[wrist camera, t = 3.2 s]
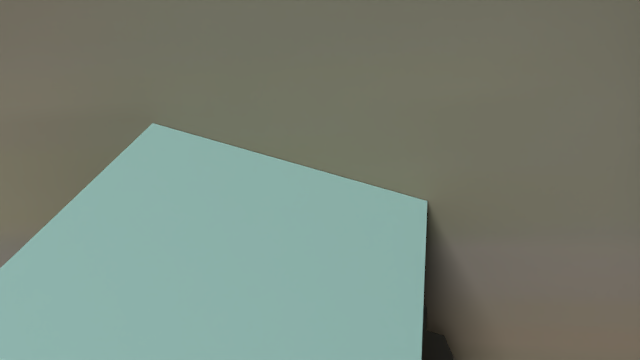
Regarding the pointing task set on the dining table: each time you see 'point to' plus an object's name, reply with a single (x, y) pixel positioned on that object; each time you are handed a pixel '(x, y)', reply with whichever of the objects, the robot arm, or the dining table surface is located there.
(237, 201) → the teal cube
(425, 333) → the robot arm
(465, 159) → the dining table surface
